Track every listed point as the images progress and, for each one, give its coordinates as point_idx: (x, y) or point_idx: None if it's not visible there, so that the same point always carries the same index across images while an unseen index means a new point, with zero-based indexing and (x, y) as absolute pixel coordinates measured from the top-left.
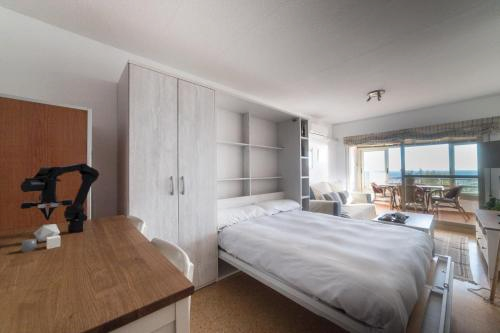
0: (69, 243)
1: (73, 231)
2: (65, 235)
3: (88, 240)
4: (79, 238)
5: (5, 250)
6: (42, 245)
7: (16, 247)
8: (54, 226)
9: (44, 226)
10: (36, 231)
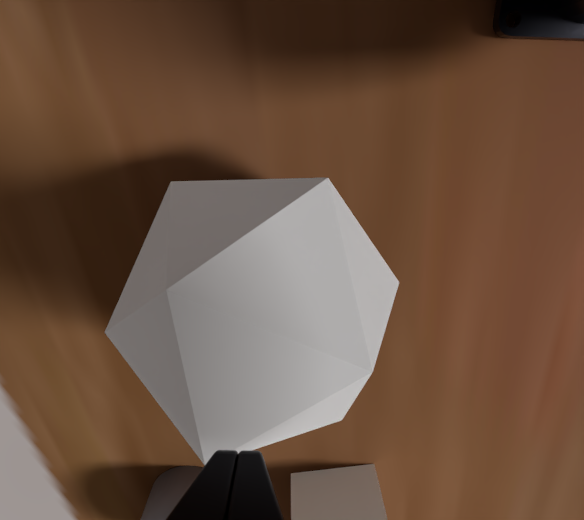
0: (441, 489)
1: (563, 11)
2: (440, 132)
3: (573, 492)
4: (535, 386)
5: (12, 397)
6: None
7: (61, 355)
8: (351, 397)
9: None
10: (134, 366)
